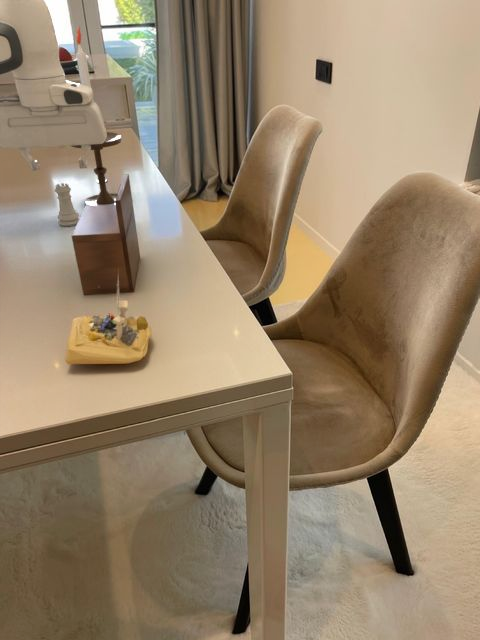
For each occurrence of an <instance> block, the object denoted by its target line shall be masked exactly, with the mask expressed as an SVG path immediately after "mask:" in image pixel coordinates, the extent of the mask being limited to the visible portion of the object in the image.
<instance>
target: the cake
mask: <svg viewBox="0 0 480 640" xmlns="http://www.w3.org/2000/svg"><path fill="white" fill-rule="evenodd" d="M118 285H119V276H118V284H117V293H116V310H117V314H119V315H114V314H113V313H109V312H107V313H106V316H100V315H92V316H89V315H86V314H85V315H81V316H77V317H75V318H73V319H72V321H71V327H70V332H69V336H68V341H67V346H66V353H65V363H66V364H67V365H107V364H109V365H110V364H112V365H113V364H114V365H116V364H120V365H121V364H131V363H136V362H139V361H141V360H142V359H143V358H144V357H146V355H147V353H148V348H149V340H150V338H151V337H152V328H151V326H150V325H149V323H148V321H147V319H146V317H145V316H141V315H140V316H137V315H136V316H135V317H134V316H133V315H130V316H128V315H127V314H126V313H127V312H126V311H128V310H129V301H128V300H121V298H122V297H120V293H119V288H118ZM98 288H99V286H98ZM126 315H127V316H126Z"/></svg>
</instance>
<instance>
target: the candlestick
mask: <svg viewBox="0 0 480 640" xmlns="http://www.w3.org/2000/svg"><path fill="white" fill-rule="evenodd" d="M76 33H77V36H76V43H77V44H78V45H77V52H76V53H75V56H76V61H77V62H76V63H77V68H78V74H79V79H80V84H81V85H84V86H88V87H90V88H92V84H91V78H90V77H91V76H90V72H89V66H88V59H87V52H84V50H83V48H82V44H81V43H82V42H81V41H82V33H81V27H80V26H78V29H77V31H76ZM92 101H94V99H93V100H92ZM121 143H122V135H121V134H120V133H116V132H110V131H107V138H106V140H105V141H104V143H103V144H91V145H90V146H91V149H90V151H93V154H94V160H95V167H94V168H93V172H94V174H95V175H96V176H97V179H96V184H98V185H99V189H100V192H99V194H95V195H94V194H93V195H91V196H89V197H87V198H86V199H84V206H85V205H86V206H89V205H111V204H115V199H116V196H117V193H110V192H109V191H108V189H107V185H106V184H107V183H108V182H109V181H108V179H106V174H107V171H108V169H107V167H105V166H103V159H102V154H101V153H102V152H101V150H103V149H104V148H109V147H113V146H116V145H120V144H121ZM70 147H72V148H75V149H82V148H81V145H71V146H70Z"/></svg>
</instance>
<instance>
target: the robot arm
mask: <svg viewBox="0 0 480 640" xmlns="http://www.w3.org/2000/svg"><path fill="white" fill-rule="evenodd" d="M59 44H60V43H59V39H58V35H57V30H56V26H55V23H54V18H53V16H52V12H51V9H50V7H49V5H48V3H47V2H46V1H45V0H0V76H1V75H3V74H7V73H11V74H12V75H13V79H14V83H15V84H14V85H15V88H16V91H17V92H16V93H17V94H6V95H1V94H0V147H1V148H2V149H3V150H7V149H8V150H10V149H18V150H19V154H20V155H21V156H22V157H23V159H24V160H25V161H26V162H27V163H28V165H29V170H30V171H31V172H40V170H41V166H40V163H39V162H40V161H39V159H34V157H32V155H31V154H30V153H29V152H31V149H32V148H44V147H45V148H49V147H66V146H68V147H72V146H71V145H81V148H80V149H81V151H84V152H83V156H81V157H79V158H78V159H77V162H78V167H79V169H88V168H89V162H88V157H89V154H90V151H91V150H90V149H91V146H90V145H91V144H103V143H104V141H105V140H106V138H107V132H108V131H107V128H106V124H105V119H104V116H103V113H102V110H101V108H100V106H99V104H97V102H95V101H94V90H93V88H92V87H91V88H90V87H88V86H84V85H81V83H77V82H73V81H70V80H68V79H67V78H66V75H65V70H64V68H63V67H62V63H61V59H60V45H59ZM92 100H93V101H92ZM30 148H31V149H30Z"/></svg>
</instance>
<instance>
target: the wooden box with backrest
mask: <svg viewBox="0 0 480 640" xmlns="http://www.w3.org/2000/svg"><path fill="white" fill-rule="evenodd" d="M116 194H117V196H116V199H115V204H111V205H89V206H85V205H84V208H83V210H82V213H81V215H79V221H78V223H77V225H75V227H74V229H73V231H72V233H71V241H72V245H73V250H74V256H75V261H76V264H77V269H78V276H79V280H80V285H81V289H82V294H83V295H84V296H86V295H103V294H117V284H118V276H119V285H118V288H119V294H120V293H121V294H122V293H135V289H136V284H137V278H138V273H139V272H138V271H139V266H140V261H141V252H140V245H139V238H138V231H137V224H136V216H135V210H134V209H135V208H134V202H133V195H132V189H131V182H130V174H129V173H124V174H123V176H122V179H121V182H120V185H119V187H118V191H117V193H116ZM98 286H99V288H98Z"/></svg>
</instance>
